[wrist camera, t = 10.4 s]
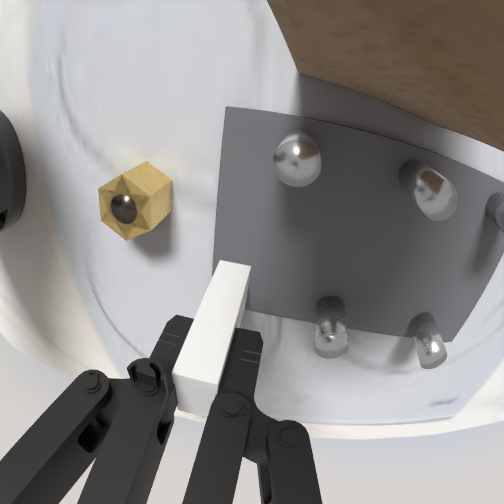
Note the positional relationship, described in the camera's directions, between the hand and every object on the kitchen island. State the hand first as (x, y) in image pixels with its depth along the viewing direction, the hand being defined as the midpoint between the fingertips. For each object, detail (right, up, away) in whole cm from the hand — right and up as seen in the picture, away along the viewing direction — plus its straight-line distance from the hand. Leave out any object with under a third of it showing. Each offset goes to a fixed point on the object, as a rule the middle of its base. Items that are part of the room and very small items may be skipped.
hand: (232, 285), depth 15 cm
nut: (-7, +6, +7) cm, 12 cm away
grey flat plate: (+10, +2, +6) cm, 12 cm away
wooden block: (+10, +15, -2) cm, 18 cm away
